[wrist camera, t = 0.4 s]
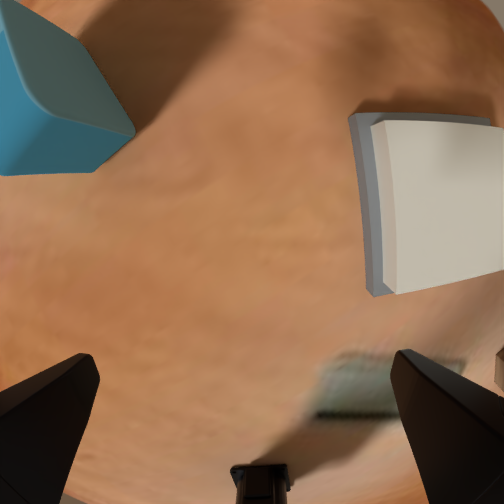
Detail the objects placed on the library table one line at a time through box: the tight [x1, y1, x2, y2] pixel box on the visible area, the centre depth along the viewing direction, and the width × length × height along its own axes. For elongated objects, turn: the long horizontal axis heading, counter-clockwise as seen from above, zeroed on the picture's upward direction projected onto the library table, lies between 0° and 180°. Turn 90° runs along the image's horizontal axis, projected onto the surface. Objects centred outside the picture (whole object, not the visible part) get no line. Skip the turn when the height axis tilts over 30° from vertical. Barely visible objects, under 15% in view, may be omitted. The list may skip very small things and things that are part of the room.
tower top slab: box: [370, 120, 504, 295], centre depth 17 cm, size 11×11×2 cm
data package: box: [0, 0, 136, 176], centre depth 13 cm, size 12×4×12 cm, turn 34°
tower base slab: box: [348, 112, 491, 297], centre depth 20 cm, size 13×13×2 cm
